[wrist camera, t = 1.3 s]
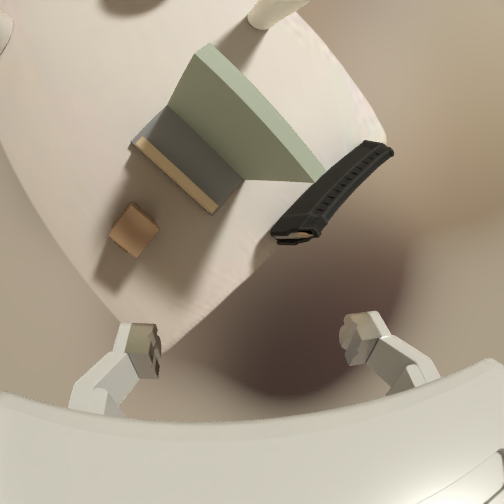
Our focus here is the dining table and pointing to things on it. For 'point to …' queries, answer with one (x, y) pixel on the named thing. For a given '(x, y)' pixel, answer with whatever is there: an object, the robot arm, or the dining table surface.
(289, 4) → the drinking glass
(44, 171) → the dining table surface
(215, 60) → the wall board
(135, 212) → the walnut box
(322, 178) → the magazine
